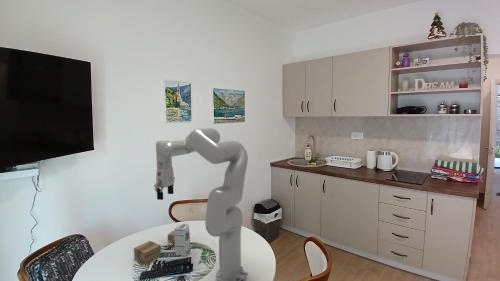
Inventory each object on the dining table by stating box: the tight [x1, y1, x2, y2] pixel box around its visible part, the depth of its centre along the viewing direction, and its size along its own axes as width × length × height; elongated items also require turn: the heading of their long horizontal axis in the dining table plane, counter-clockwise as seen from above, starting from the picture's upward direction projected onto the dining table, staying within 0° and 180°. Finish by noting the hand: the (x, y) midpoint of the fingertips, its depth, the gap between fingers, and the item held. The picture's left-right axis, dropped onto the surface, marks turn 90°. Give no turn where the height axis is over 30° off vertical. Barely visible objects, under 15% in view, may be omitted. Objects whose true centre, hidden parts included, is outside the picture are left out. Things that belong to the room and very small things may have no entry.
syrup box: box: [173, 223, 191, 257], centre depth 135 cm, size 6×6×14 cm
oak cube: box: [167, 230, 175, 245], centre depth 148 cm, size 5×5×5 cm
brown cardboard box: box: [133, 240, 162, 266], centre depth 131 cm, size 9×9×6 cm
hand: (165, 196), depth 137 cm, fingers open, 9 cm apart
